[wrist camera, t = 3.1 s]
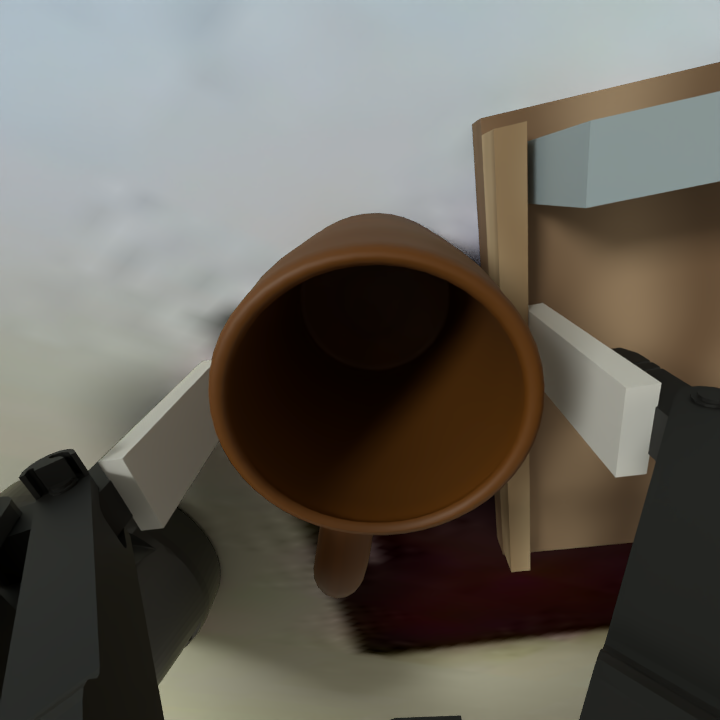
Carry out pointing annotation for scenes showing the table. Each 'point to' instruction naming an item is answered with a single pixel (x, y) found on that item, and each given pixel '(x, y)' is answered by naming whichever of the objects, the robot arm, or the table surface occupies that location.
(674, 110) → the bar
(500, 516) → the housing base
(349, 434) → the mug
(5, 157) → the table surface
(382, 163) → the table surface
